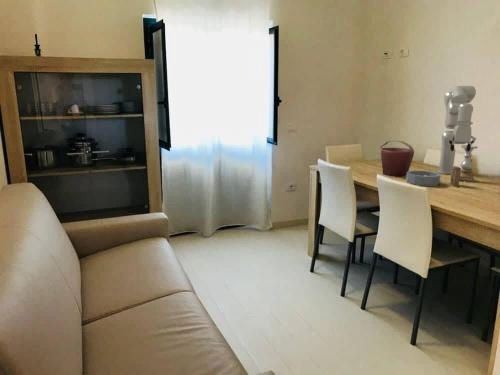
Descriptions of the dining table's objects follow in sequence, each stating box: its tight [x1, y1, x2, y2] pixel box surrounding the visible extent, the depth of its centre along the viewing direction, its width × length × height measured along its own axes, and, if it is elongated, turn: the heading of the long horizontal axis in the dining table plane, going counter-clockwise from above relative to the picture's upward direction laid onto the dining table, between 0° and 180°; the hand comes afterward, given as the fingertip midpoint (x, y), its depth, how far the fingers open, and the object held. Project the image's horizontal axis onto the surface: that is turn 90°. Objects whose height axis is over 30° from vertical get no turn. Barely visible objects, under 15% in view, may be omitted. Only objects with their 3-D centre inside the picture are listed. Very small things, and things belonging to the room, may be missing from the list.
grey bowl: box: [405, 169, 441, 187], centre depth 261 cm, size 20×20×6 cm
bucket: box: [380, 140, 415, 178], centre depth 286 cm, size 24×22×25 cm
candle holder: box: [459, 144, 478, 183], centre depth 267 cm, size 11×11×24 cm
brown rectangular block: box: [449, 166, 462, 187], centre depth 254 cm, size 6×3×12 cm, turn 174°
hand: (459, 150), depth 250 cm, fingers open, 9 cm apart
